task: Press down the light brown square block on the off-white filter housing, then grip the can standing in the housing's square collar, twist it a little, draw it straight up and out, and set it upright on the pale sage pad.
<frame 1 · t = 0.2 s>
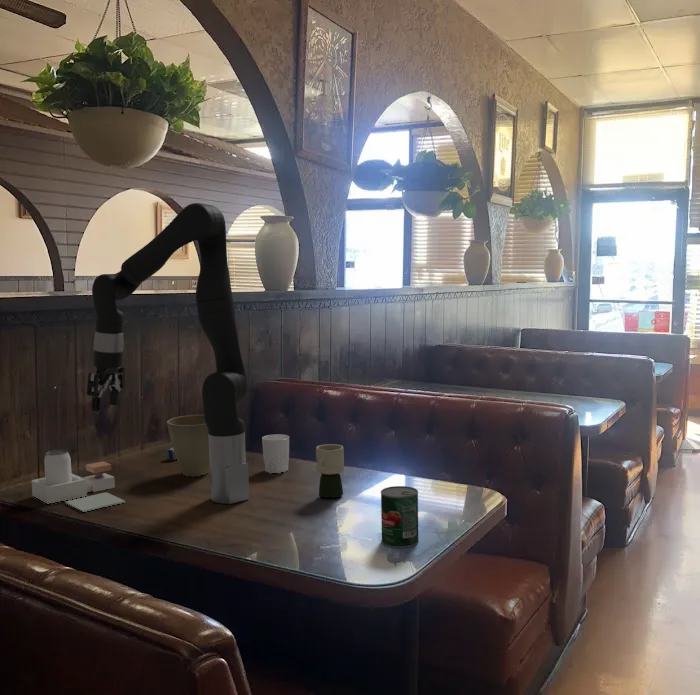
hand: (105, 407, 203), 22 cm above the table, tool pointing down, fingers open, 8 cm apart
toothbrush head: (200, 453, 245), on the table
plant pot: (195, 474, 219), on the table
filter housing: (78, 492, 203), on the table
character mug: (331, 497, 193), on the table
light brown square block: (98, 472, 206), point 4 cm above the table, slide at 0.0 cm
canned tomato: (400, 542, 160), on the table
can: (59, 497, 199), resting in filter housing
white cup: (276, 471, 220), on the table
pad: (95, 503, 193), on the table
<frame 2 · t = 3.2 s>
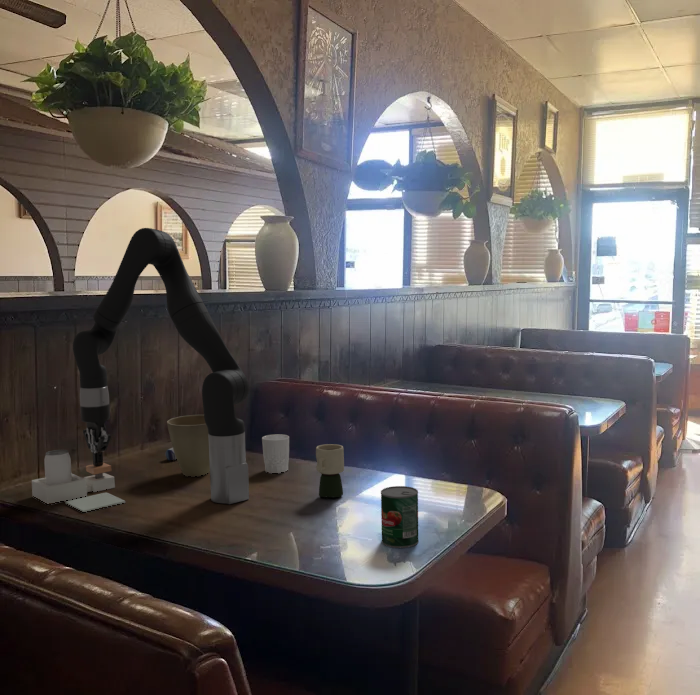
hand: (98, 465, 206), 6 cm above the table, tool pointing down, fingers closed
light brown square block: (98, 473, 206), point 4 cm above the table, slide at 0.3 cm, touching gripper
everything else where it was.
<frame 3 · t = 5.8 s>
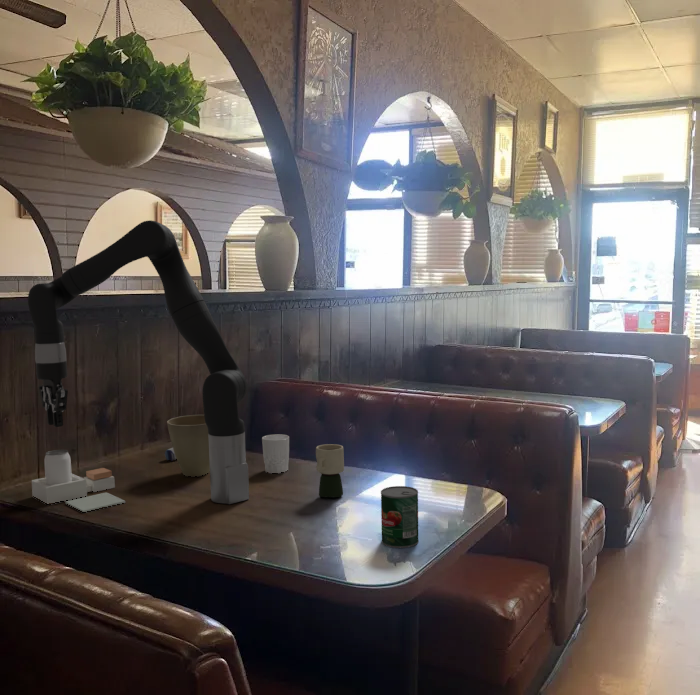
hand: (55, 425, 198), 19 cm above the table, tool pointing down, fingers open, 3 cm apart
light brown square block: (99, 479, 207), point 2 cm above the table, slide at 1.8 cm
everything else where it was.
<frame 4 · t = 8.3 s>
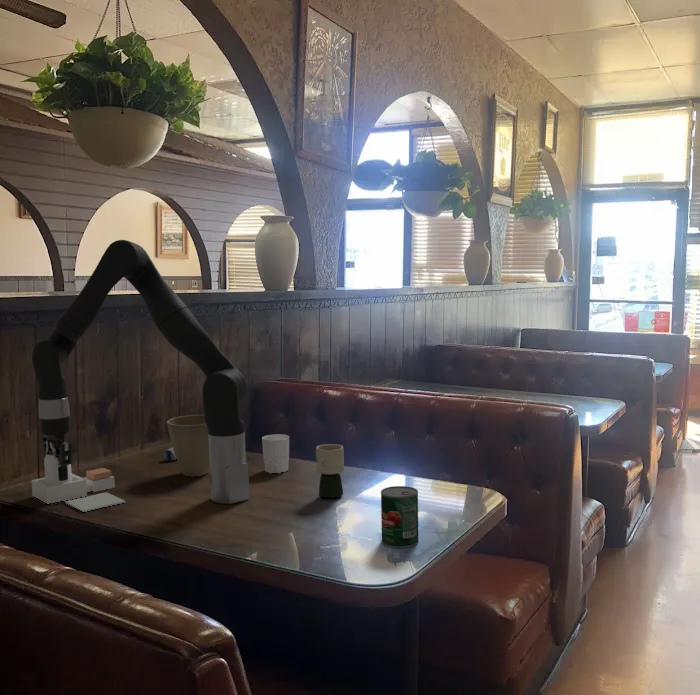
hand: (58, 477, 199), 5 cm above the table, tool pointing down, fingers closed on can, 6 cm apart
can: (59, 497, 199), resting in filter housing, touching gripper
everything else where it was.
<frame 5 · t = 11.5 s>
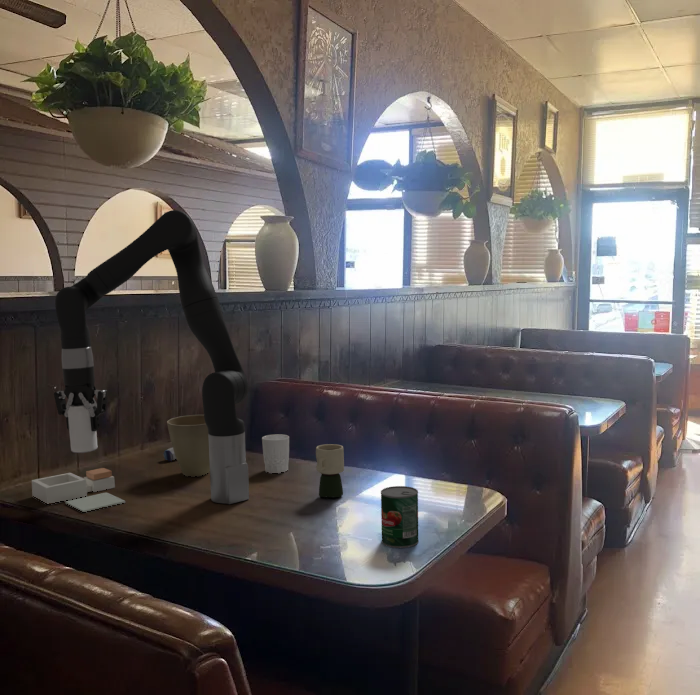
hand: (83, 430, 192), 19 cm above the table, tool pointing down, fingers closed on can, 6 cm apart
can: (84, 451, 193), point 13 cm above the table, touching gripper
everything else where it was.
when the fingers open (7 cm above the table, at t = 14.7 s): can drops 1 cm, resting on pad.
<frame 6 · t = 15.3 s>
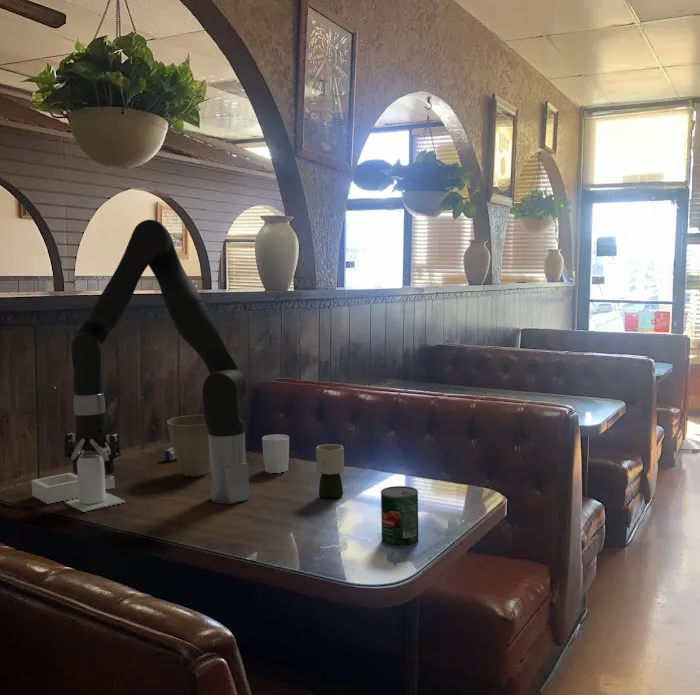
hand: (93, 474, 192), 8 cm above the table, tool pointing down, fingers open, 8 cm apart
can: (92, 501, 193), resting on pad
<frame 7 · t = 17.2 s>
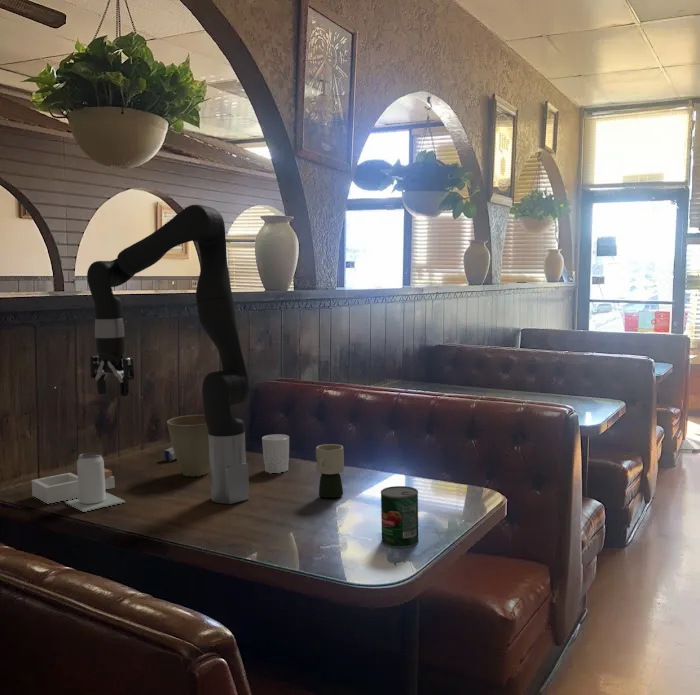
hand: (113, 394, 205), 26 cm above the table, tool pointing down, fingers open, 8 cm apart
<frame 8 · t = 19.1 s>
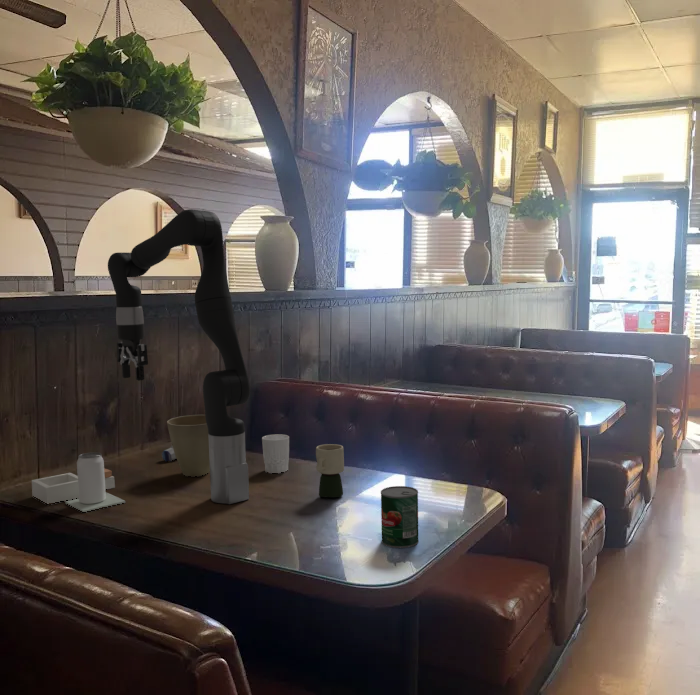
hand: (133, 378, 217), 28 cm above the table, tool pointing down, fingers open, 8 cm apart
at the end: light brown square block slide at 1.8 cm; can inside the target area on the pad (0.7 cm from its centre), point 0.4 cm above the pad's base; can tilted 0° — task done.
